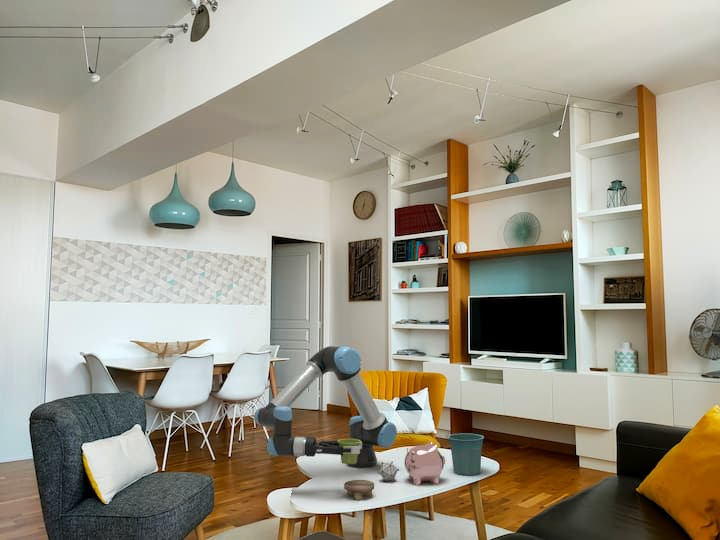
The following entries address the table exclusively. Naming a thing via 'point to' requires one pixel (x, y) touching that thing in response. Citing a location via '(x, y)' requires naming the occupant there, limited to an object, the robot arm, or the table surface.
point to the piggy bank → (424, 463)
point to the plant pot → (349, 457)
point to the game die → (388, 471)
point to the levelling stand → (359, 488)
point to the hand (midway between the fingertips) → (360, 447)
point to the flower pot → (466, 453)
